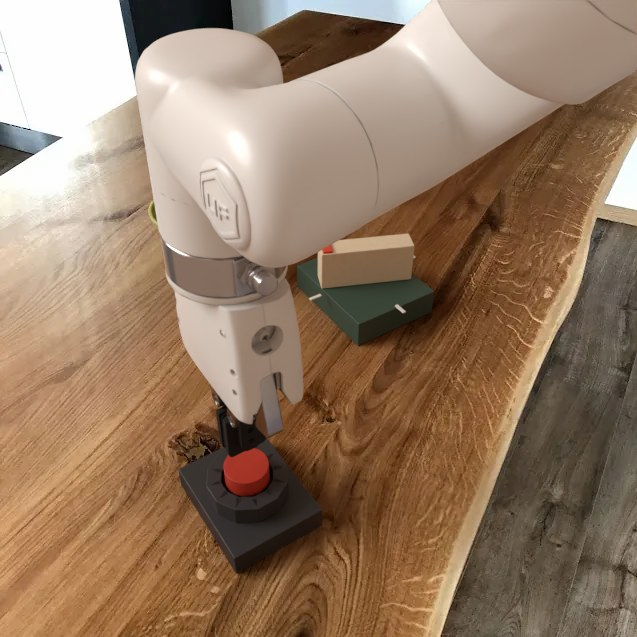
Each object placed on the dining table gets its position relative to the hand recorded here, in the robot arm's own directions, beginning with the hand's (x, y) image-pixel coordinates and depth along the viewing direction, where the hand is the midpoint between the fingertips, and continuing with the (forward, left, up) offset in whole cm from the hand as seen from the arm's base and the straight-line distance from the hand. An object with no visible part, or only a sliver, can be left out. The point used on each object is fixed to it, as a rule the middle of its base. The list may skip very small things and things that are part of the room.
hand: (243, 442), depth 56 cm
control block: (0, 0, -8) cm, 8 cm away
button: (0, 0, -4) cm, 4 cm away
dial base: (+17, -24, -8) cm, 30 cm away
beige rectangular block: (+17, -24, -5) cm, 30 cm away
